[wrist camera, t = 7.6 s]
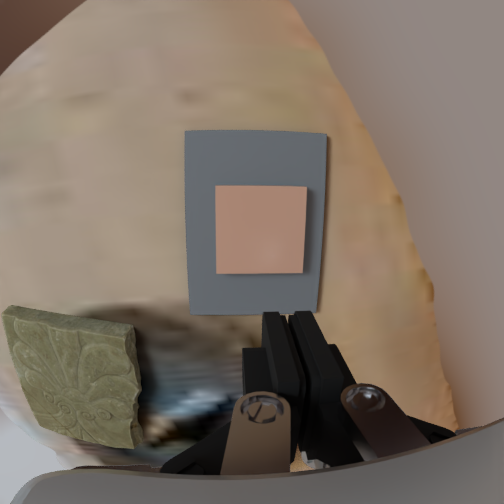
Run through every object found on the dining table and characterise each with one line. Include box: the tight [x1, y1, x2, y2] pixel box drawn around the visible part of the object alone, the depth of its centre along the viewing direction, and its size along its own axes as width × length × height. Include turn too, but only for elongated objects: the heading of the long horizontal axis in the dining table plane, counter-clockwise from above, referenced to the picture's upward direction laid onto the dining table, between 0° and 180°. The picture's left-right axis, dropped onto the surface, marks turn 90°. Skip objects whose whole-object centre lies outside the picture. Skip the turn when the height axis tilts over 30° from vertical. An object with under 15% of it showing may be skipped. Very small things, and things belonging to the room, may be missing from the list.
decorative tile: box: [1, 305, 143, 449], centre depth 34 cm, size 19×20×4 cm
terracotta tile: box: [215, 184, 307, 274], centre depth 30 cm, size 8×2×8 cm
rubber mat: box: [185, 130, 327, 315], centre depth 31 cm, size 18×13×1 cm
